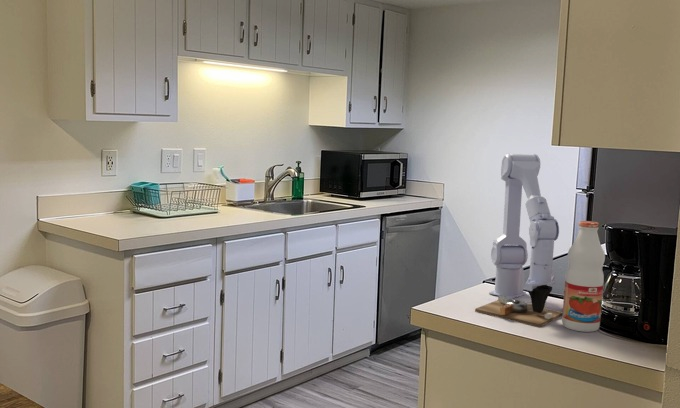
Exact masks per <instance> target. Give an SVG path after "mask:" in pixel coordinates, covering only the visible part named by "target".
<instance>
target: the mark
mask: <svg viewBox="0 0 680 408" xmlns="http://www.w3.org/2000/svg"><path fill="white" fill-rule="evenodd" d="M552 317H553V314H552V313H547V314H545V318H547V319H550V318H552Z"/></svg>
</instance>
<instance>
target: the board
mask: <svg viewBox="0 0 680 408" xmlns="http://www.w3.org/2000/svg"><path fill="white" fill-rule="evenodd" d="M502 306H505V304H503V303H501V302H499V301H498V299H497V300H494V301H492V302H489V303H486V304H484V305H481V306H479V307H476V308H475V309H474V310H475V312H477V313H480V314H484V315H488V316H492V317H497V318H500V319H505V320H508V321H513V322H517V323H521V324H525V325H528V326H533V327H537V328H541V327H542V326H544V325H547V324H549V323H551V322H553V321H554V320H557V319H559V318H561V317H562V314H563V311H562V312H561V311H556V310H553V309H547V308H546V312H542V313H537V312H533V311H530V310H527V311H526V312H524V313H515V312H510V313H508V314H505V315H503V314H500V307H502ZM547 313H552V314H553V317H552V318H550V319H547V318H545V314H547Z"/></svg>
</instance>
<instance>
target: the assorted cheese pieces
mask: <svg viewBox="0 0 680 408" xmlns="http://www.w3.org/2000/svg"><path fill="white" fill-rule="evenodd" d="M497 300H498V301H499V302H501V303H503V304H505V306H502V307H500V314H503V315H505V314H508V313H510V312H515V313H524V312H526V311H527V310H530V311H533V307H532V302H526V301H525V300H520V299H511V298H509V297H506V296H504V295H498V296H497ZM546 309H547V304H546V303H545V306H544V309H543V311H542V312H546Z"/></svg>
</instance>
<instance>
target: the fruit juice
mask: <svg viewBox="0 0 680 408" xmlns="http://www.w3.org/2000/svg"><path fill="white" fill-rule="evenodd" d="M578 228H579V230H578V233H577V235H576V238H575V240H574V242H573V244H571V246H570V247H569V249H568V250H567V260H568V267H567V269H566V271H565V277H564V290H563V303H562V313H563V314H562V316H561V317H562V318H561V325H562V326H563V327H564V328H566V329H568V330H572V331H577V332H583V333H592V332H596V331H598V330H599V329H600V325H601V318H602V317H601V316H602V305H603V292H604V283H605V281H604V276H605V275H604V271H603V266H604V263H605V260H606V253H605V250H604V249H603V247H602V245H601V242H600V237H599V233H598V230H599V228H600V223H599V222H597V221H593V220H591V221H590V220H580V221H579V222H578Z"/></svg>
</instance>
